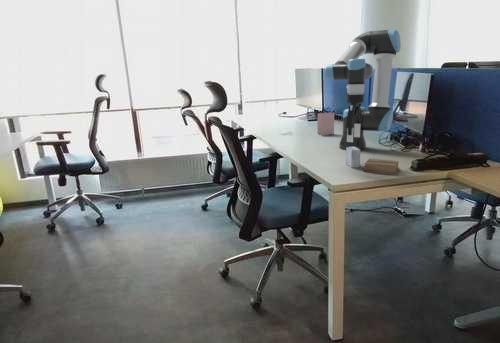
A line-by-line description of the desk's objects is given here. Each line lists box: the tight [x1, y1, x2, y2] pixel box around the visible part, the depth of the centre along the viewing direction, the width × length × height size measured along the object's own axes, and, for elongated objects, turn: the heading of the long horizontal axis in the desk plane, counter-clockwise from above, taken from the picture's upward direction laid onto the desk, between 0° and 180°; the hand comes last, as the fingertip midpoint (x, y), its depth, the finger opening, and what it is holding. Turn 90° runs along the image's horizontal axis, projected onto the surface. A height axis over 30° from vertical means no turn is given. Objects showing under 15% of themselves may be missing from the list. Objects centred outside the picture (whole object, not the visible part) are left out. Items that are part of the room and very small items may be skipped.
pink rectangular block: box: [316, 112, 335, 137], centre depth 259 cm, size 11×7×15 cm, turn 84°
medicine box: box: [345, 147, 361, 169], centre depth 179 cm, size 8×4×9 cm, turn 5°
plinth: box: [362, 158, 400, 176], centre depth 170 cm, size 10×14×4 cm
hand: (353, 139), depth 177 cm, fingers open, 13 cm apart
